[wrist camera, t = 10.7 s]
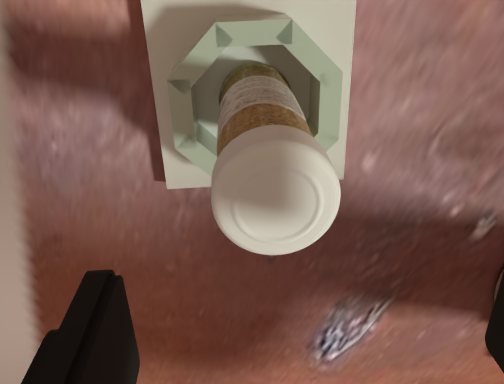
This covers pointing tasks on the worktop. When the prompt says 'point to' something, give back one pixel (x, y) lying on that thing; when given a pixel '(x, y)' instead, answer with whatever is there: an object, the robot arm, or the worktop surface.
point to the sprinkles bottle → (269, 167)
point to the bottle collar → (235, 55)
